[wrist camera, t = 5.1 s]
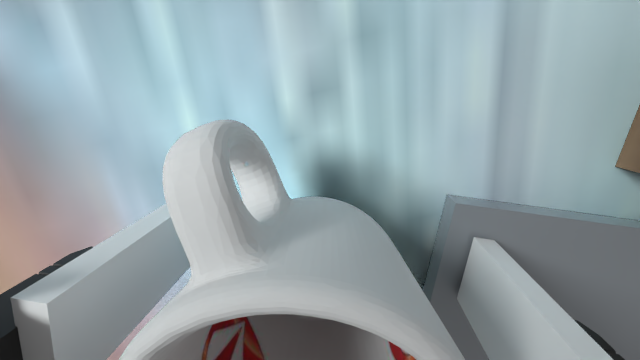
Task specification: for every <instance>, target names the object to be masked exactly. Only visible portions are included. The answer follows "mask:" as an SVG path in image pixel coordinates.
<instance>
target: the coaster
mask: <svg viewBox="0 0 640 360" xmlns="http://www.w3.org/2000/svg"><path fill="white" fill-rule="evenodd" d="M474 237H476V238H483V239H490V240H495V241H496V242H497V243H498V244H499V245H500V246H501V247H502V248H503V249H504V250H505V251H506V252H507V253H508V254H509V255H510V256H511V257H512V258H513V259H514V260H515V261H516V262H517V263H518V264H519V265H520V266H521V267H522V268H523V269H524V270H525V271H526V272H527V273H528V274H529V276H530V277H531V278H532V279H533V280H534V281H535V282H536V283H537V284H538V285H539V286H540V287H541V288H542V289H543V290H544V291H545V292H546V293H547V294H548V295H549V296H550V297H551V298H552V299H553V300H554V301H555V302H556V303H557V304H558V305H559V306H560V307H561V308H562V309H563V310H564V311H565V312H566V313H567V314H568V315H569V316H570V317H571V318H572V319H573V320H578V321H579V322H581V323H582V324H584V325H585V326H587V327H588V328H590V329H591V330H593V331H594V332H595V333H597V334H598V335H600V336H601V337H602V338H603V339H604V340H605V341H606V342H607V343H608V344H609V345H610V346H611V347H612V348H613V349H614V350H615V351H616V354H619V355H620V356H622V357H623V358H624V359H625V360H640V221H638V220H630V219H623V218H616V217H608V216H601V215H593V214H586V213H579V212H571V211H564V210H557V209H549V208H542V207H534V206H527V205H520V204H512V203H505V202H498V201H490V200H483V199H475V198H468V197H461V196H453V195H447V197H446V201H445V205H444V208H443V212H442V216H441V220H440V224H439V228H438V232H437V236H436V240H435V244H434V248H433V252H432V256H431V260H430V264H429V268H428V272H427V276H426V280H425V284H424V288H423V292H424V294H425V295H426V297H427V299H428V300H429V302H430V303H431V305H432V307H433V308H434V310H435V312H436V313H437V315H438V316H439V318H440V320H441V321H442V323H443V325H444V326H445V328H446V329H447V331H448V333H449V334H450V336H451V338H452V339H453V341H454V342H455V344H456V346H457V347H458V349H459V351H460V352H461V354H462V355H463V357H464V359H465V360H489V358H488V356H487V354H486V352H485V351H484V349H483V347H482V345H481V343H480V341H479V339H478V337H477V336H476V334H475V332H474V330H473V328H472V326H471V324H470V322H469V320H468V319H467V317H466V315H465V313H464V311H463V309H462V307H461V305H460V304H459V302H458V300H457V296H458V292H459V289H460V285H461V281H462V278H463V274H464V271H465V267H466V263H467V260H468V256H469V253H470V249H471V246H472V242H473V238H474Z"/></svg>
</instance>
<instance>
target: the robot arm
mask: <svg viewBox="0 0 640 360" xmlns="http://www.w3.org/2000/svg"><path fill="white" fill-rule="evenodd" d="M189 267H190V263H189V260H188V258H187V255H186V253H185V250H184V248H183V246H182V243H181V241H180V239H179V237H178V234H177V232H176V230H175V227H174V224H173V221H172V219H171V216H170V213H169V210H168V207H167V203H165V204H164V205H162V206H161V207H159V208H157V209H156V210H154V211H152V212H151V213H149V214H147V215H146V216H144V217H142V218H141V219H139V220H138V221H136V222H134V223H133V224H131V225H129V226H128V227H126V228H124V229H123V230H121V231H119V232H118V233H116V234H115V235H113V236H111V237H110V238H108V239H106V240H105V241H103V242H101V243H100V244H98V245H96V246H95V247H88V248H86V249H83V250H80V251H77V252H74V253H71V254H69V255H68V256H66V257H64V258H62V259H61V260H59V261H57V262H56V263H54V265H53V266H49V267H47V268H45V269H43V270H42V271H40V272H39V274H35V275H33V276H31V277H30V278H28V279H26V280H25V281H23V282H21V283H19V284H18V285H16V286H14V287H13V288H11V289H9V290H7V291H6V292H4V293H2V294H1V295H0V360H106V359H107V358H108V357H109V356H110V355H111V354H112V353H113V352H114V350H115V349H116V348H117V347H118V346H119V345H120V344H121V343H122V342H123V340H124V339H125V338H126V337H127V336H128V335H129V334H130V333H131V332H132V331H133V329H134V328H135V327H136V326H137V325H138V324H139V323H140V322H141V321H142V319H143V318H144V317H145V316H146V315H147V314H148V313H149V312H150V311H151V309H152V308H153V307H154V306H155V305H156V304H157V303H158V302H159V301H160V300H161V298H162V297H163V296H164V295H165V294H166V293H167V292H168V291H169V290H170V288H171V287H172V286H173V285H174V284H175V283H176V282H177V281H178V280H179V278H180V277H181V276H182V275H183V274H184V273H185V272H186V271H187V270H188V269H189ZM457 300H458V302H459V304H460V305H461V307H462V309H463V311H464V313H465V315H466V317H467V319H468V320H469V322H470V324H471V326H472V328H473V330H474V332H475V334H476V336H477V337H478V339H479V341H480V343H481V345H482V347H483V349H484V351H485V352H486V354H487V356H488V358H489V360H625V359H624V358H623V357H622V356H620V355H619V354H616V351H615V350H614V349H613V348H612V347H611V346H610V345H609V344H608V343H607V342H606V341H605V340H604V339H603V338H602V337H601V336H600V335H598V334H597V333H595V332H594V331H593V330H591V329H590V328H588V327H587V326H585V325H584V324H582V323H581V322H579V321H578V320H573V319H572V318H571V317H570V316H569V315H568V314H567V313H566V312H565V311H564V310H563V309H562V308H561V307H560V306H559V305H558V304H557V303H556V302H555V301H554V300H553V299H552V298H551V297H550V296H549V295H548V294H547V293H546V292H545V291H544V290H543V289H542V288H541V287H540V286H539V285H538V284H537V283H536V282H535V281H534V280H533V279H532V278H531V277H530V276H529V274H528V273H527V272H526V271H525V270H524V269H523V268H522V267H521V266H520V265H519V264H518V263H517V262H516V261H515V260H514V259H513V258H512V257H511V256H510V255H509V254H508V253H507V252H506V251H505V250H504V249H503V248H502V247H501V246H500V245H499V244H498V243H497V242H496V241H495V240H490V239H483V238H476V237H474V238H473V242H472V246H471V249H470V253H469V256H468V260H467V263H466V267H465V271H464V274H463V278H462V281H461V285H460V289H459V292H458V296H457Z"/></svg>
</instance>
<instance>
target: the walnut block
mask: <svg viewBox="0 0 640 360" xmlns="http://www.w3.org/2000/svg"><path fill="white" fill-rule="evenodd" d="M615 167H619V168H623V169H626V170H630V171H634V172H637V173H640V105H639V108H638V110H637V113H636V115H635V118H634V120H633V123H632V125H631V128H630V130H629V133H628V135H627V138H626V140H625V143H624V145H623V148H622V150H621V153H620V155H619V158H618V161H617V163H616V166H615Z"/></svg>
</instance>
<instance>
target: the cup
mask: <svg viewBox="0 0 640 360" xmlns="http://www.w3.org/2000/svg"><path fill="white" fill-rule="evenodd" d="M231 170H232V172H233V173H234V175H235V177H236V179H237V182H238V184H239V187H240V191H241V195H242V199H241V197H240V195H239V193H238V191H237V188H236V185H235V183H234V180H233V176H232V172H231ZM163 188H164V195H165V200H166V203H167V207H168V210H169V213H170V216H171V219H172V221H173V224H174V227H175V230H176V232H177V234H178V237H179V239H180V241H181V243H182V246H183V248H184V250H185V253H186V255H187V258H188V260H189V263H190V267H191V277H190V279H189V281H188V283H187V285H186V286H185V287H184V288H183V289H182V290H181V291H180V292H178V293H177V294H176V295H175V296H174V297H173V298H172V299H171V300H170V301H169V302H168V303H167V304H166V305H165V306H164V307H163V308H162V309H161V310H160V311H159V312H158V313H157V314H156V315H155V316H154V317H153V318H152V319H151V320H150V321H149V322H148V323H147V324H146V325H145V326H144V327H143V328H142V329H141V330H140V332H139V333H138V334H137V335H136V336H135V337H134V339H133V340H132V341H131V342H130V343H129V345H128V346H127V348H126V349H125V351H124V352H123V354H122V355H121V357H120V359H119V360H465V359H464V357H463V355H462V354H461V352H460V351H459V349H458V347H457V346H456V344H455V342H454V341H453V339H452V338H451V336H450V334H449V333H448V331H447V329H446V328H445V326H444V325H443V323H442V321H441V320H440V318H439V316H438V315H437V313H436V312H435V310H434V308H433V307H432V305H431V303H430V302H429V300H428V299H427V297H426V295H425V294H424V292H423V290H422V289H421V287H420V286H419V284H418V282H417V281H416V279H415V277H414V276H413V274H412V273H411V271H410V269H409V268H408V266H407V264H406V263H405V261H404V260H403V258H402V256H401V255H400V253H399V251H398V250H397V248H396V247H395V245H394V243H393V242H392V241H391V239H390V238H389V236H388V235H387V233H386V232H385V231H384V230H383V229H382V227H381V226H380V225H379V224H378V223H377V222H376V221H374V220H373V219H372V218H371V217H370V216H369V215H367V214H366V213H365V212H363V211H362V210H360V209H358V208H357V207H355V206H353V205H351V204H348V203H346V202H343V201H340V200H337V199H333V198H328V197H314V196H310V197H300V198H294V199H290V198H289V196H288V195H287V192H286V190H285V188H284V186H283V184H282V181H281V179H280V176H279V174H278V172H277V169H276V167H275V165H274V163H273V161H272V158H271V156H270V154H269V152H268V150H267V149H266V147H265V145H264V144H263V142H262V141H261V139H260V138H259V137H258V136H257V134H256V133H255V132H254V131H253V130H251V129H250V128H249V127H247V126H246V125H245V124H243V123H240V122H238V121H234V120H216V121H213V122H210V123H207V124H204V125H201V126H199V127H197V128H195V129H193V130H191V131H189V132H187V133H185V134H183V135H182V136H181V137H180V138H179V139H178V140H177V141H176V142H175V143H174V144H173V146H172V147H171V148H170V150H169V152H168V153H167V155H166V158H165V162H164V166H163ZM242 200H243V201H242Z"/></svg>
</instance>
